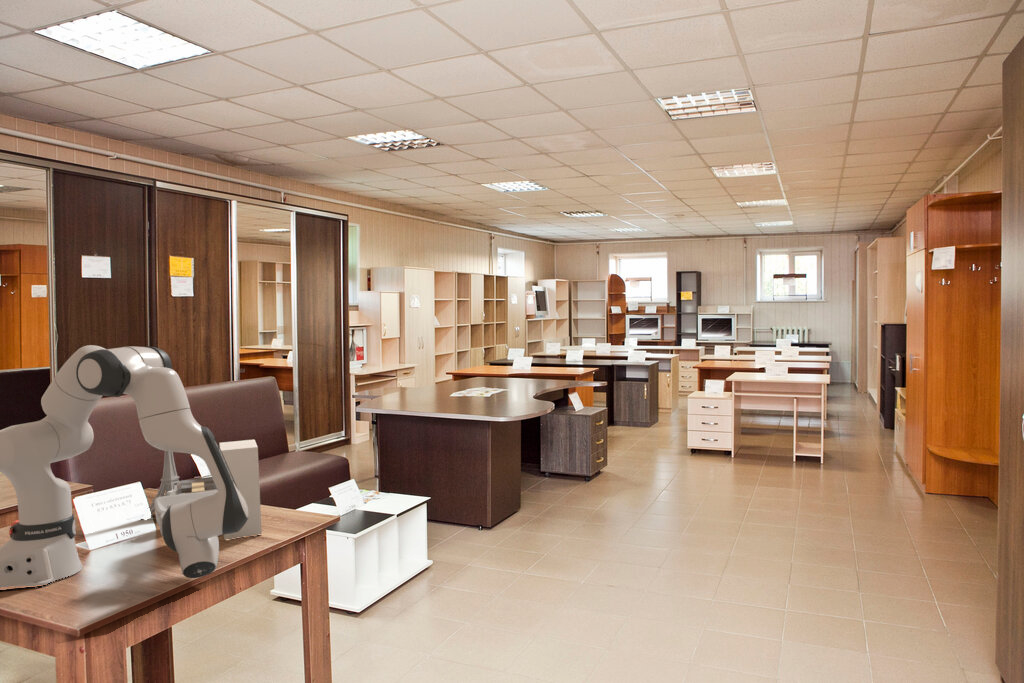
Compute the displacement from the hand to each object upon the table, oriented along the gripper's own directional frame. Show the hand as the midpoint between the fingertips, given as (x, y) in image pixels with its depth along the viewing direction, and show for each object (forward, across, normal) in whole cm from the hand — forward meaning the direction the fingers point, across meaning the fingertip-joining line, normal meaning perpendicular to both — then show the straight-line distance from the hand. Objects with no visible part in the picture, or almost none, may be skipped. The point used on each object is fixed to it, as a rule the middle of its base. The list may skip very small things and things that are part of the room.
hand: (197, 484), depth 181 cm
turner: (+4, 0, +7) cm, 8 cm away
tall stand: (+6, -11, +26) cm, 29 cm away
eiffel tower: (+32, +9, +42) cm, 53 cm away
